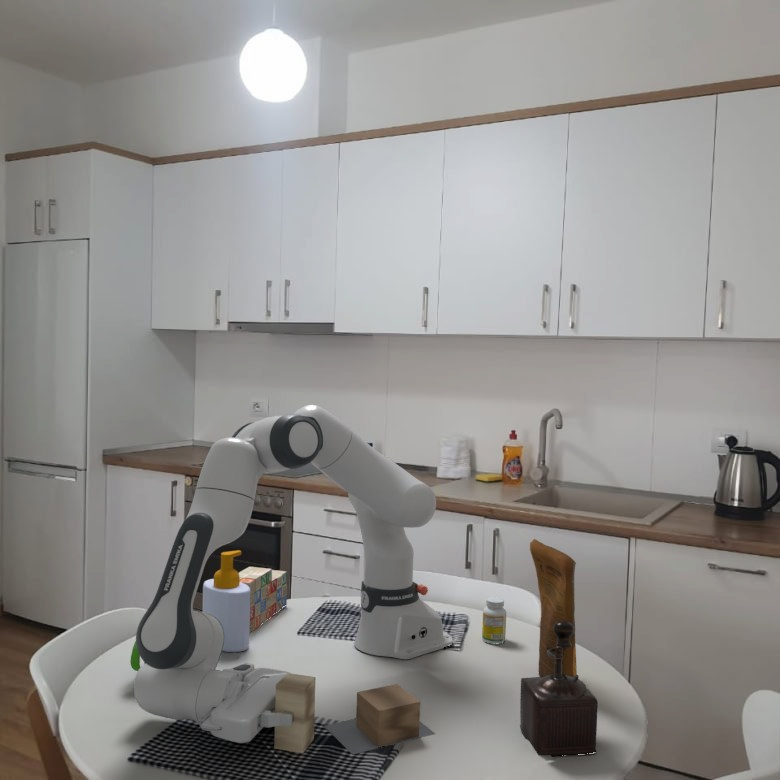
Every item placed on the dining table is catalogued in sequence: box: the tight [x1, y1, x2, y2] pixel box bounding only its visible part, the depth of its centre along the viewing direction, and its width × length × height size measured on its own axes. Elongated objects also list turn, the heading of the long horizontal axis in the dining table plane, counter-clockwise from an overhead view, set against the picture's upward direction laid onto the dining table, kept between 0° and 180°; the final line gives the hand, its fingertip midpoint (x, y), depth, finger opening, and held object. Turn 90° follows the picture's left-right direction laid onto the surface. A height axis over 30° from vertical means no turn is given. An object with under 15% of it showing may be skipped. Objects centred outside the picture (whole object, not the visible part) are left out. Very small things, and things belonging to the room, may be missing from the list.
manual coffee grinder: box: [519, 621, 598, 758], centre depth 138 cm, size 16×11×18 cm
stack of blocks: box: [238, 566, 288, 634], centre depth 193 cm, size 21×6×12 cm, turn 163°
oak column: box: [273, 672, 317, 754], centre depth 131 cm, size 5×5×11 cm
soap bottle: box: [202, 549, 250, 653], centre depth 176 cm, size 13×8×20 cm, turn 49°
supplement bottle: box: [481, 596, 507, 645], centre depth 183 cm, size 5×5×10 cm
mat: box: [323, 718, 436, 756], centre depth 137 cm, size 16×11×1 cm
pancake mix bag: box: [529, 538, 578, 677], centre depth 159 cm, size 7×19×28 cm, turn 8°
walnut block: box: [355, 683, 421, 746], centre depth 137 cm, size 8×8×6 cm
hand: (300, 710), depth 131 cm, fingers closed on oak column, 5 cm apart
